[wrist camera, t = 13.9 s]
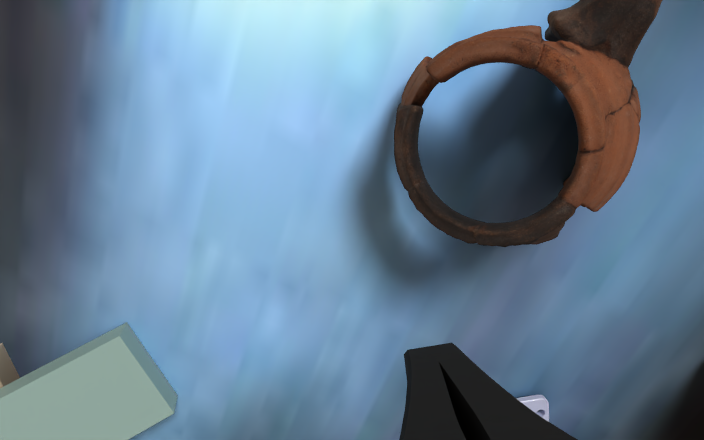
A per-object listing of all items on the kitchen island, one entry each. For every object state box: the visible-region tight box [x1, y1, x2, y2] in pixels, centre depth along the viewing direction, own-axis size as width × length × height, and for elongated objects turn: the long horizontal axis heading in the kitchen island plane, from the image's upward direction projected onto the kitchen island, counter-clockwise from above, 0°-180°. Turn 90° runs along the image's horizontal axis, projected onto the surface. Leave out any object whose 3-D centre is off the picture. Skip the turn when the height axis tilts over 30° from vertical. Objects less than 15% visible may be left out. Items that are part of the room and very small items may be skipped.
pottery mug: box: [394, 0, 662, 247], centre depth 18 cm, size 12×10×8 cm
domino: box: [0, 322, 178, 440], centre depth 21 cm, size 5×2×8 cm
